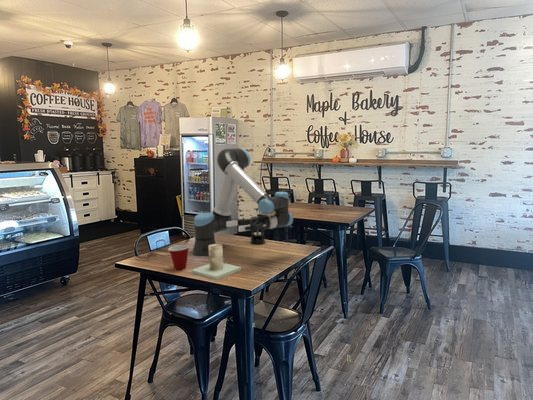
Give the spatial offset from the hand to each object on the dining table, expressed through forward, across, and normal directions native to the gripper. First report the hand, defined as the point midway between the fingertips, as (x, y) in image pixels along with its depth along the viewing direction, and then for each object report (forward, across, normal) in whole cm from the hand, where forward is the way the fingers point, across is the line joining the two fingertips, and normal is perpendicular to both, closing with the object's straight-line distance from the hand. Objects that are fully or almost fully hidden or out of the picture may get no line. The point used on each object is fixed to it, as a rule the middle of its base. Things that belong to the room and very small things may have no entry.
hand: (232, 226), depth 206 cm
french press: (-38, +38, -23) cm, 58 cm away
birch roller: (+10, 0, -21) cm, 23 cm away
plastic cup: (+24, +15, -23) cm, 36 cm away
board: (+10, 0, -22) cm, 24 cm away
